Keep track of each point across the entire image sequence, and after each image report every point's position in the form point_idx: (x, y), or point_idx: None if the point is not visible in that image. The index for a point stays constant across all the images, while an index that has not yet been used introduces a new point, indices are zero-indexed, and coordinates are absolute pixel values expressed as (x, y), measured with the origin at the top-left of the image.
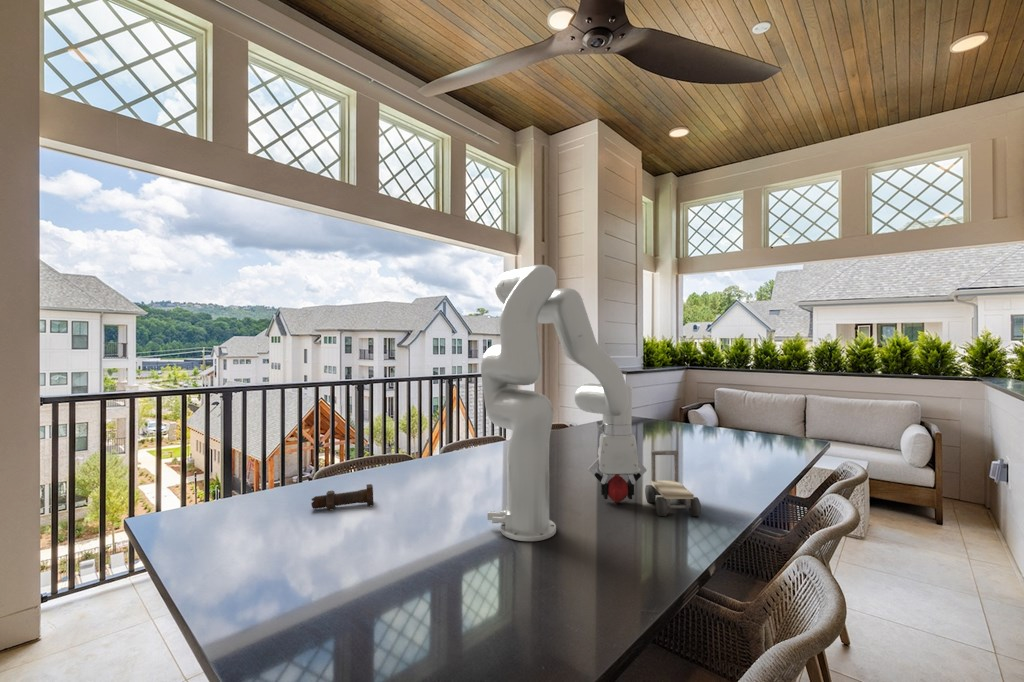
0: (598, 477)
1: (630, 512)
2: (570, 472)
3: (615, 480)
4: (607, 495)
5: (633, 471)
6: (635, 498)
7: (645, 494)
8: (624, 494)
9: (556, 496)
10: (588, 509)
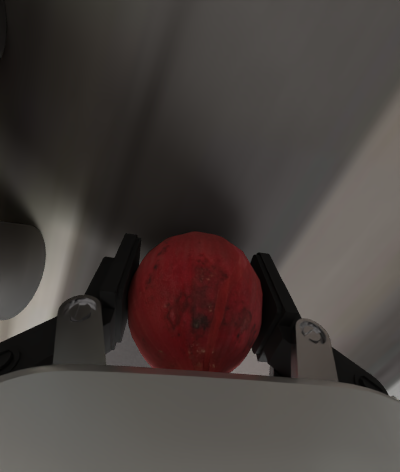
0: (351, 371)
1: (180, 111)
2: None
3: (229, 332)
4: (259, 264)
5: (19, 400)
6: None
7: (36, 287)
8: (173, 240)
9: (378, 333)
10: (367, 197)
